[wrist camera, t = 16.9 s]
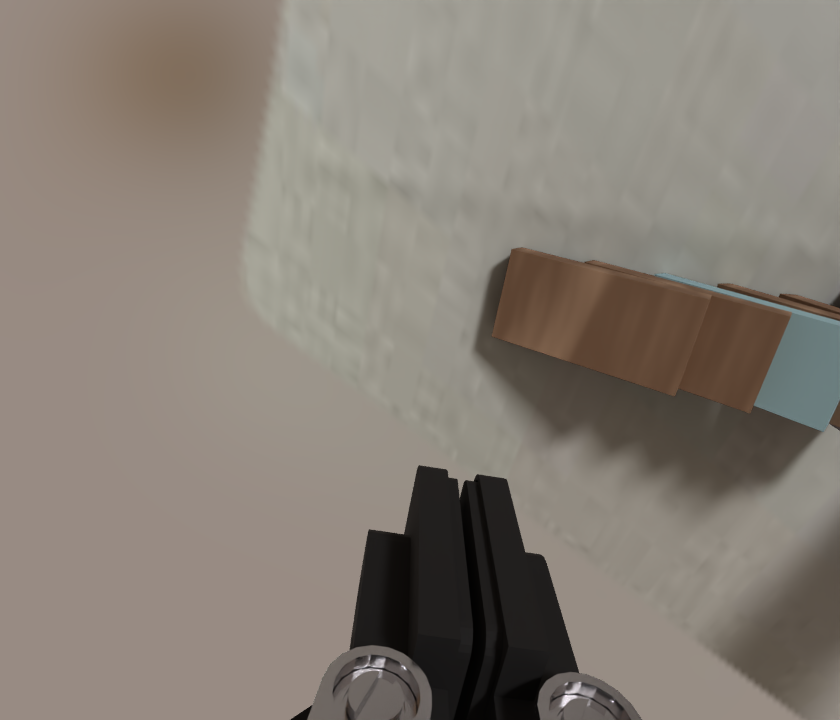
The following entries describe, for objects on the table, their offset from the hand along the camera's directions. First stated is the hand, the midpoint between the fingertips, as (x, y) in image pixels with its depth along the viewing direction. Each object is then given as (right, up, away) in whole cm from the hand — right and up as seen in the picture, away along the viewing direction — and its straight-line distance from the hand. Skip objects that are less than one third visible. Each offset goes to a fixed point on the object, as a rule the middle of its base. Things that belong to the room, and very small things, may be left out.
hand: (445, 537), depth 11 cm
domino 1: (+4, +7, +21) cm, 23 cm away
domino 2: (+8, +7, +22) cm, 24 cm away
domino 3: (+13, +6, +22) cm, 26 cm away
